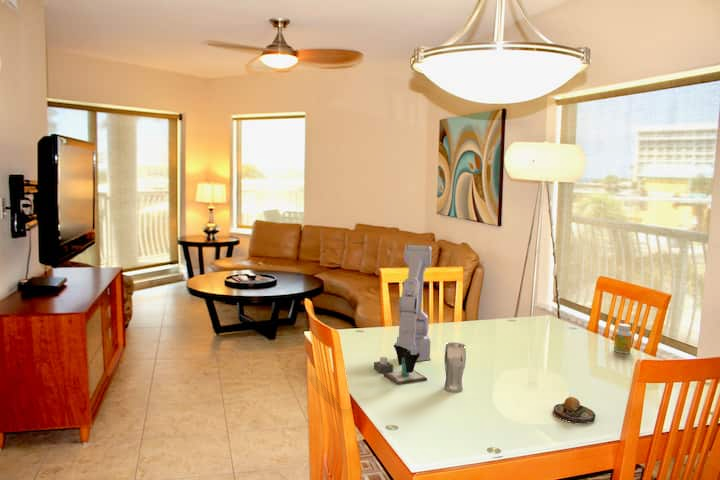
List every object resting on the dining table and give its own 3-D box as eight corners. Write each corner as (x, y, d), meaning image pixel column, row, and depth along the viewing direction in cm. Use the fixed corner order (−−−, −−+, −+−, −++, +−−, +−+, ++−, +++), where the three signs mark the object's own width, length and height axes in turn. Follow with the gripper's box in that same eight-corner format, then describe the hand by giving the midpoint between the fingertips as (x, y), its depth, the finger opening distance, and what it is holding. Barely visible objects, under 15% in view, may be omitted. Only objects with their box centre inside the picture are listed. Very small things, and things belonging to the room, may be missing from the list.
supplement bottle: (614, 352, 241) (616, 325, 240) (613, 348, 247) (616, 322, 246) (630, 354, 239) (633, 327, 238) (629, 350, 245) (632, 324, 243)
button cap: (385, 365, 211) (385, 356, 210) (388, 367, 208) (389, 358, 208) (378, 365, 209) (378, 357, 209) (381, 368, 207) (382, 359, 207)
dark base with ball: (603, 423, 171) (605, 399, 170) (566, 426, 169) (568, 401, 168) (579, 407, 183) (581, 384, 182) (545, 409, 180) (547, 386, 179)
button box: (386, 367, 212) (386, 360, 212) (392, 371, 208) (393, 364, 208) (373, 369, 210) (374, 362, 210) (380, 373, 206) (380, 366, 205)
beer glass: (451, 394, 189) (453, 349, 187) (438, 386, 195) (440, 343, 193) (468, 391, 192) (470, 347, 190) (455, 384, 198) (457, 341, 196)
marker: (406, 373, 204) (407, 356, 203) (410, 376, 201) (411, 359, 201) (399, 374, 203) (400, 357, 202) (403, 377, 200) (404, 360, 199)
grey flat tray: (413, 371, 209) (413, 368, 209) (426, 380, 201) (427, 376, 201) (383, 376, 203) (383, 372, 203) (396, 384, 195) (396, 380, 195)
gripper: (389, 325, 206) (387, 362, 207) (403, 336, 192) (401, 376, 194) (408, 324, 208) (406, 361, 209) (423, 335, 194) (421, 375, 196)
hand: (405, 368), depth 202 cm, fingers open, 7 cm apart
